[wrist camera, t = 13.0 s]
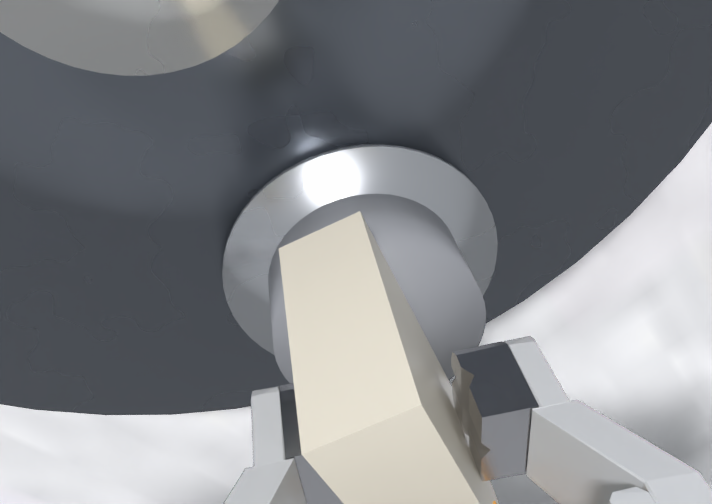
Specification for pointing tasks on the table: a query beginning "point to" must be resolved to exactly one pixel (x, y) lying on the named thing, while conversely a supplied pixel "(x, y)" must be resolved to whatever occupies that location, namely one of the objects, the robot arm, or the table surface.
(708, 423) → the table surface
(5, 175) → the tribrach disc
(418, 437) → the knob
